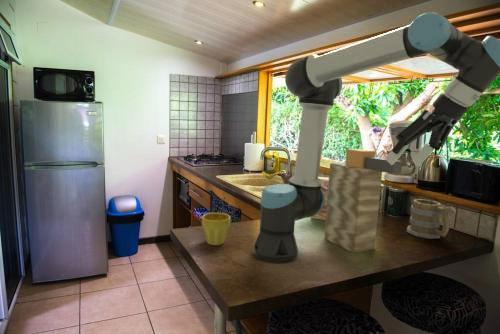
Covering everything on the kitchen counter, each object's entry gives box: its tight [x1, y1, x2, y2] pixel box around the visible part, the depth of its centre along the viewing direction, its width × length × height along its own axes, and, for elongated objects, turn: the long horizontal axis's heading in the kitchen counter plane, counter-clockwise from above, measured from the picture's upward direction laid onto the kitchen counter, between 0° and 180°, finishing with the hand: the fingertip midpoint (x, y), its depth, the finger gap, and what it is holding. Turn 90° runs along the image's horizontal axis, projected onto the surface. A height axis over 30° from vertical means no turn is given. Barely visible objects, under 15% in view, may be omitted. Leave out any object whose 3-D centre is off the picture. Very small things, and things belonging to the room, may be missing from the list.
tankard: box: [406, 198, 457, 240], centre depth 138 cm, size 20×13×15 cm, turn 14°
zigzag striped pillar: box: [324, 162, 383, 254], centre depth 124 cm, size 16×10×30 cm, turn 28°
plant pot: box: [201, 212, 232, 246], centre depth 121 cm, size 10×10×10 cm
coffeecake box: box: [310, 176, 329, 221], centre depth 157 cm, size 15×7×20 cm, turn 67°
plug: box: [344, 148, 403, 175], centre depth 115 cm, size 20×6×6 cm, turn 28°
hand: (402, 162), depth 95 cm, fingers open, 13 cm apart
